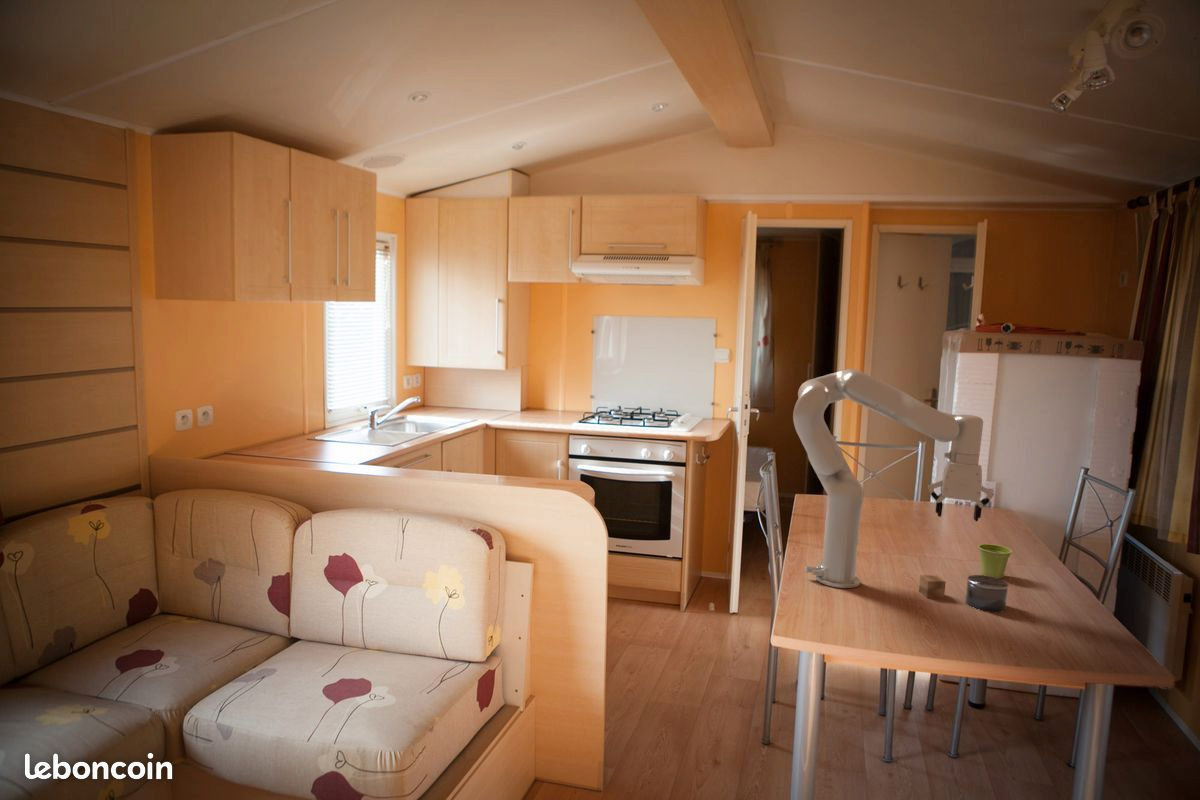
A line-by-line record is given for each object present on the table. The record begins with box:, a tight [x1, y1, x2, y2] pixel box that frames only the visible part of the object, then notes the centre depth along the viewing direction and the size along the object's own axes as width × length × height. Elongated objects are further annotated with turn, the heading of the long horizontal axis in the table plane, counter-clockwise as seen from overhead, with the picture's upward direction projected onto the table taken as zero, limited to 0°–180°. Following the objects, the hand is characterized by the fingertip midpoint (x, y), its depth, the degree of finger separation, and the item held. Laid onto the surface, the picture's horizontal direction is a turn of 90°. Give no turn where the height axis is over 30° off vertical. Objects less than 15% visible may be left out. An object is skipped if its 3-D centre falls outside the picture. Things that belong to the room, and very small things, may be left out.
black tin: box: [964, 574, 1009, 613], centre depth 223 cm, size 10×10×7 cm
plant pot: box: [977, 543, 1013, 579], centre depth 249 cm, size 9×9×9 cm
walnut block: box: [918, 574, 946, 599], centre depth 229 cm, size 5×5×5 cm
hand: (957, 517), depth 230 cm, fingers open, 9 cm apart
